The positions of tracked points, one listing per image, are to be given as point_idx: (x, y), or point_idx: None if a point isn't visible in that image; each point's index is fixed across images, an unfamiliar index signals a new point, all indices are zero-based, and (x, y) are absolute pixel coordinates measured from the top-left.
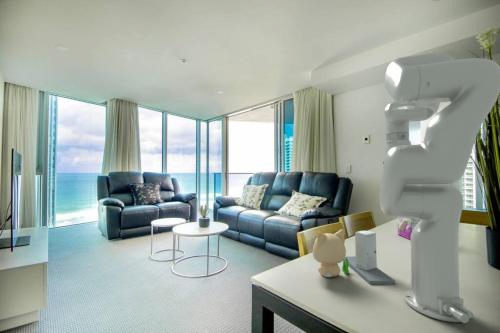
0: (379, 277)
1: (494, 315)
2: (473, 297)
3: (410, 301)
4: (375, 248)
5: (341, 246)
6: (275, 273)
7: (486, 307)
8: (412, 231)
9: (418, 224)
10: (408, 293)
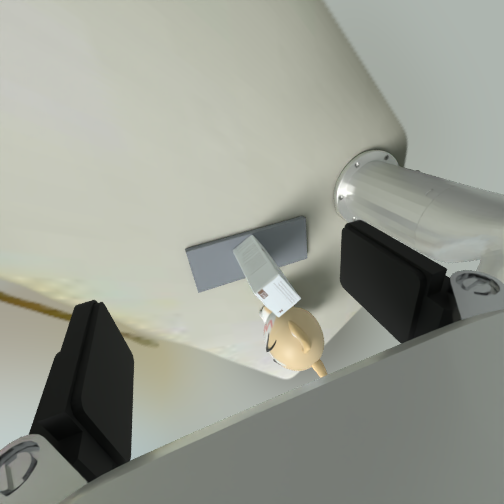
0: (295, 240)
1: (390, 110)
2: (348, 96)
3: (364, 221)
4: (267, 255)
5: (318, 328)
6: (276, 366)
7: (374, 102)
8: (444, 261)
9: (464, 259)
10: (346, 215)
